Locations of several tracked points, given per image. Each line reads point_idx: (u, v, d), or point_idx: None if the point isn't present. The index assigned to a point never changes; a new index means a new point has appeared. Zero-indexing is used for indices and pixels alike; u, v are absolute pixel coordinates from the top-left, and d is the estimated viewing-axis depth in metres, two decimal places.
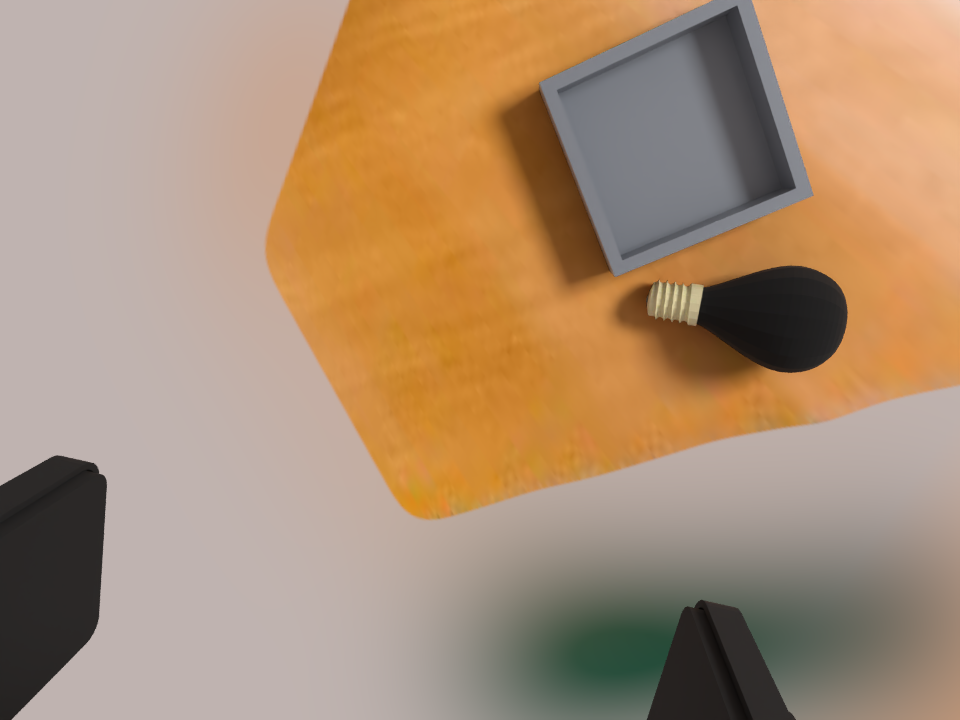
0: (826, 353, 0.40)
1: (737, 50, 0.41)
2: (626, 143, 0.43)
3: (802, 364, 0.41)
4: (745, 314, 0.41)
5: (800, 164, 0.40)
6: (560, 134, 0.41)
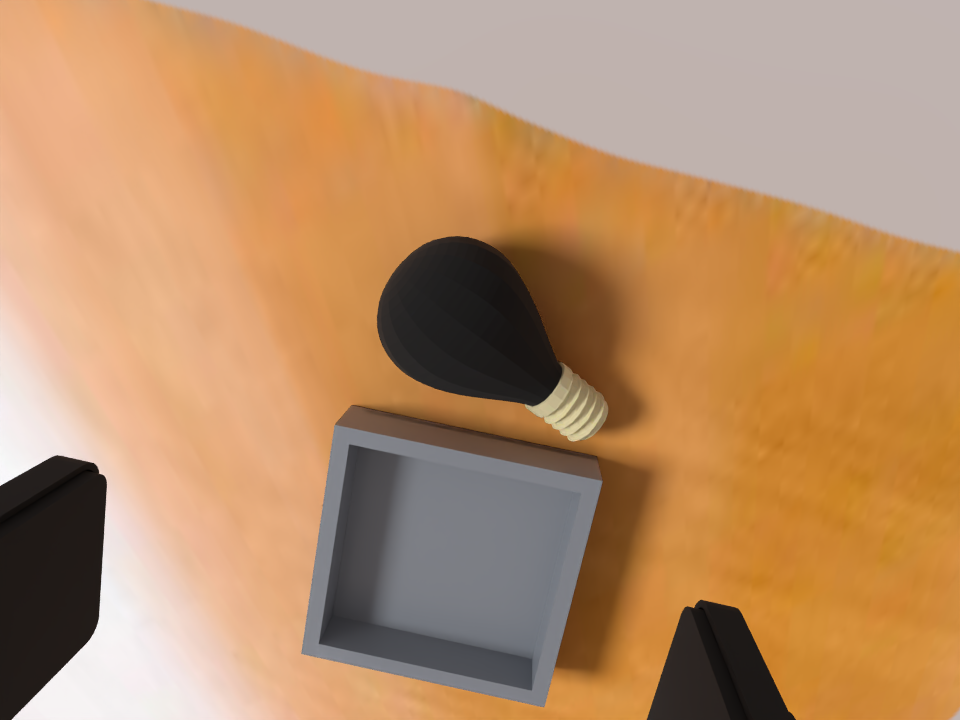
0: (439, 274, 0.26)
1: (337, 581, 0.36)
2: (493, 573, 0.35)
3: (476, 274, 0.27)
4: (505, 376, 0.28)
5: (332, 465, 0.32)
6: (556, 652, 0.33)
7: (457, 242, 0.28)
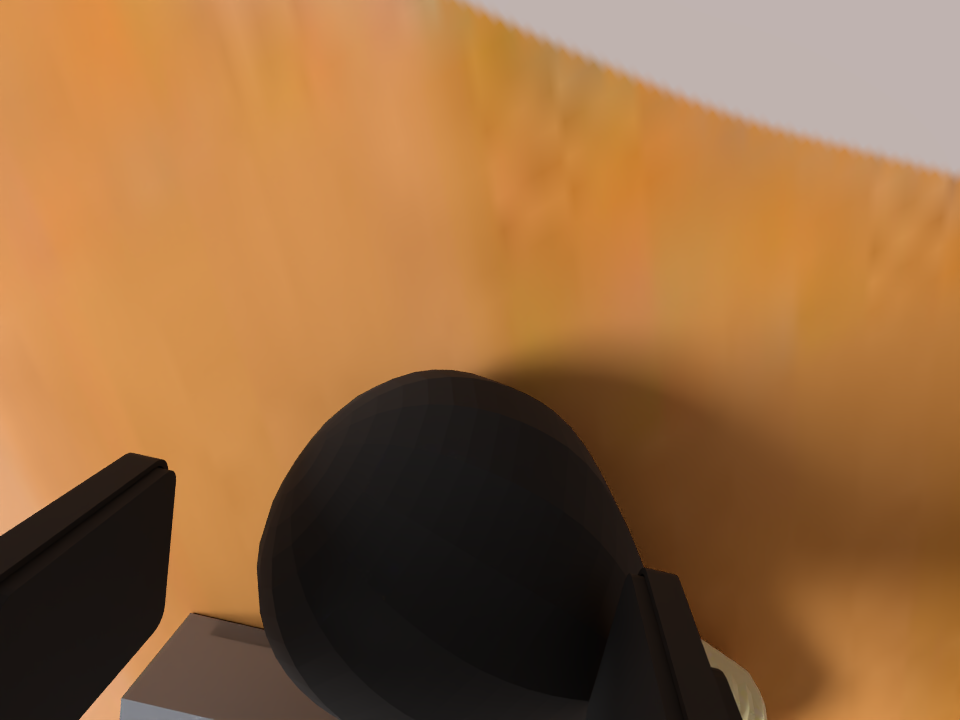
0: (397, 513, 0.10)
1: None
2: None
3: (496, 509, 0.10)
4: None
5: None
6: None
7: (448, 404, 0.11)
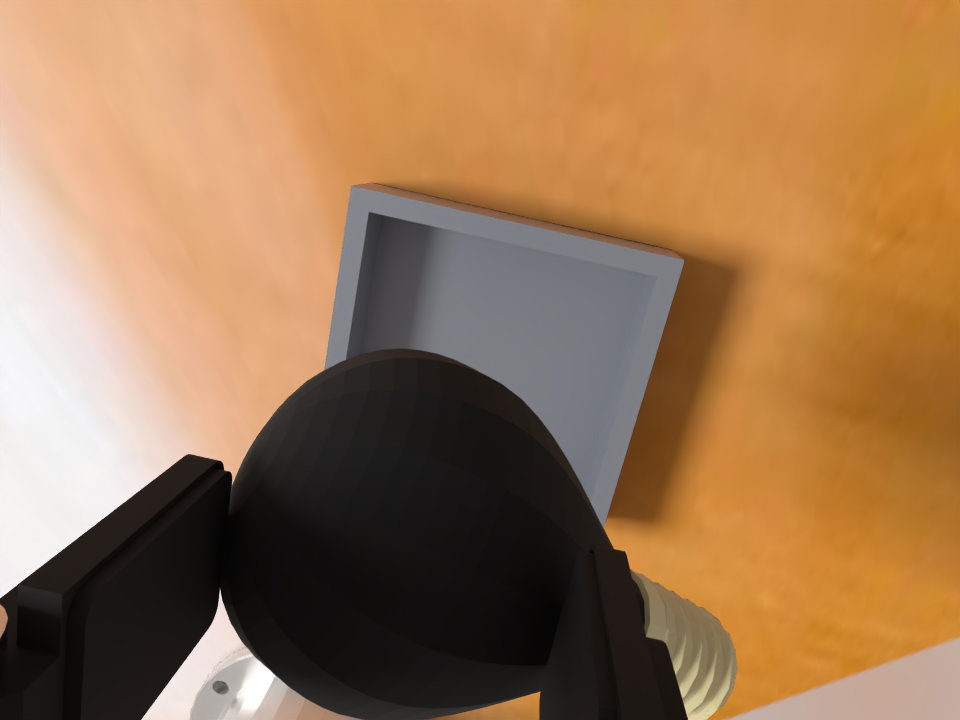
0: (337, 504, 0.10)
1: None
2: (538, 396, 0.29)
3: (436, 494, 0.10)
4: (526, 688, 0.12)
5: (347, 240, 0.26)
6: (615, 483, 0.28)
7: (387, 389, 0.11)
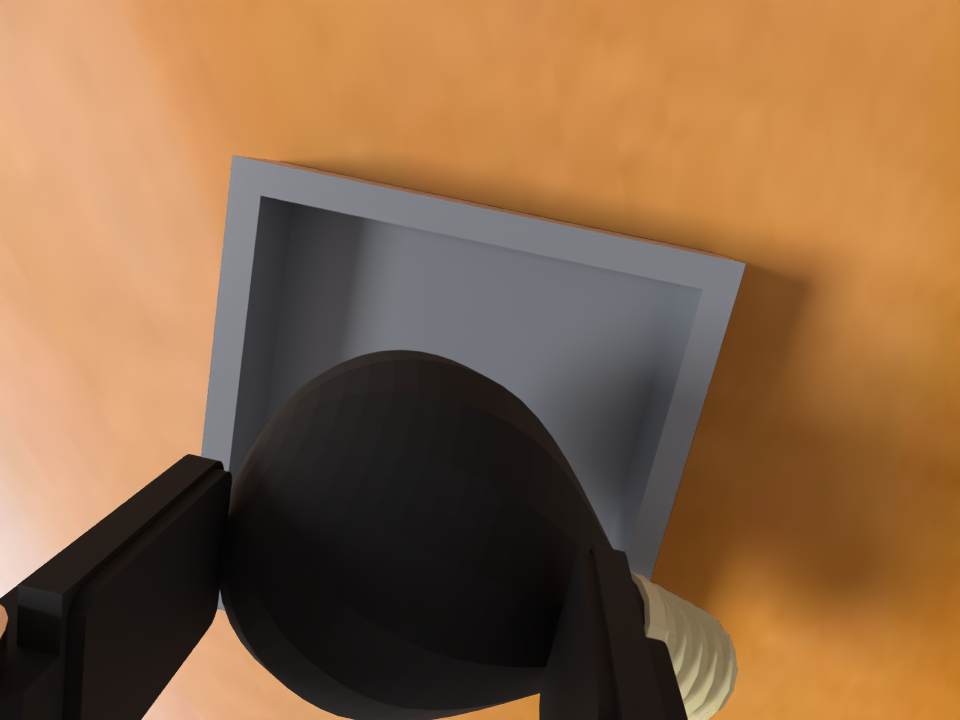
0: (337, 506, 0.10)
1: None
2: None
3: (436, 496, 0.10)
4: (527, 689, 0.12)
5: (230, 240, 0.17)
6: None
7: (387, 391, 0.11)
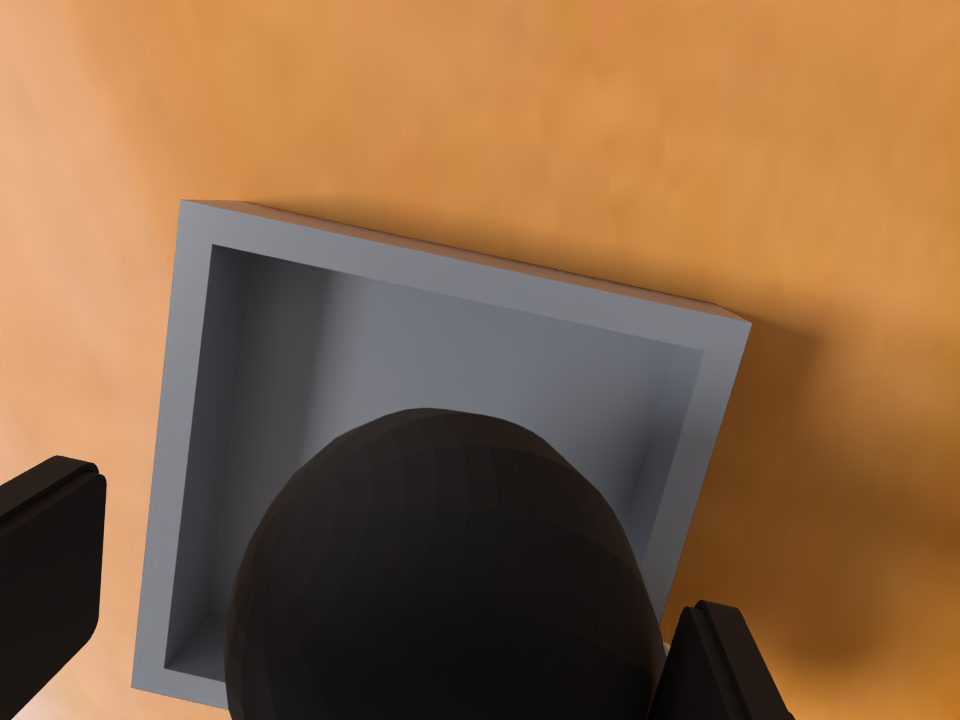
0: (439, 583, 0.08)
1: (215, 548, 0.19)
2: None
3: (545, 558, 0.09)
4: None
5: (178, 292, 0.15)
6: None
7: (456, 446, 0.10)
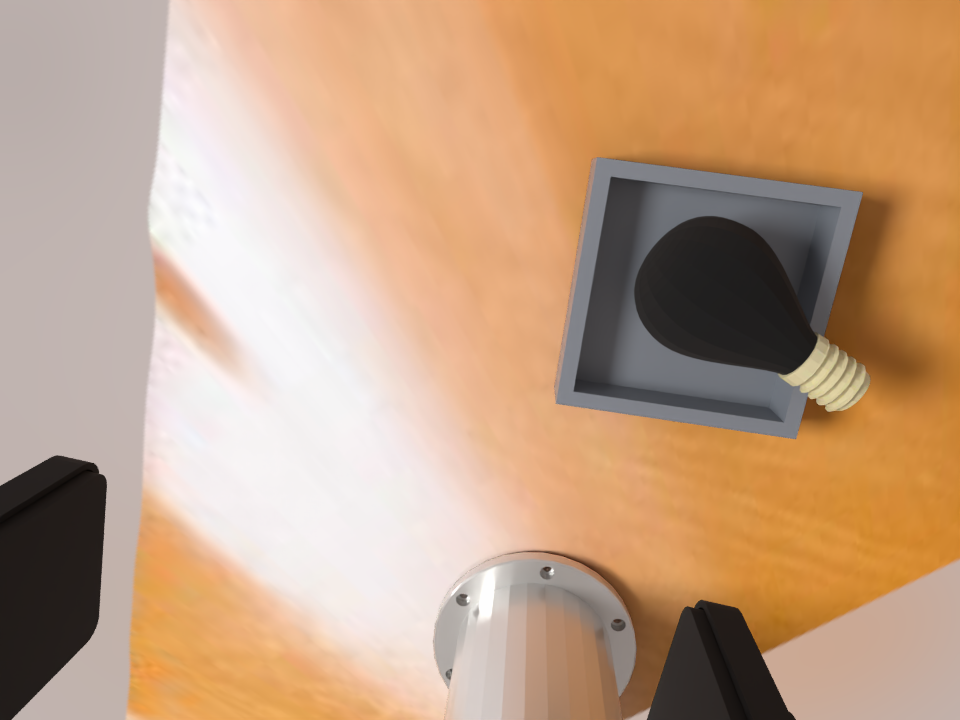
0: (694, 241, 0.30)
1: None
2: None
3: (728, 239, 0.29)
4: (760, 336, 0.30)
5: (593, 200, 0.33)
6: None
7: (707, 217, 0.31)
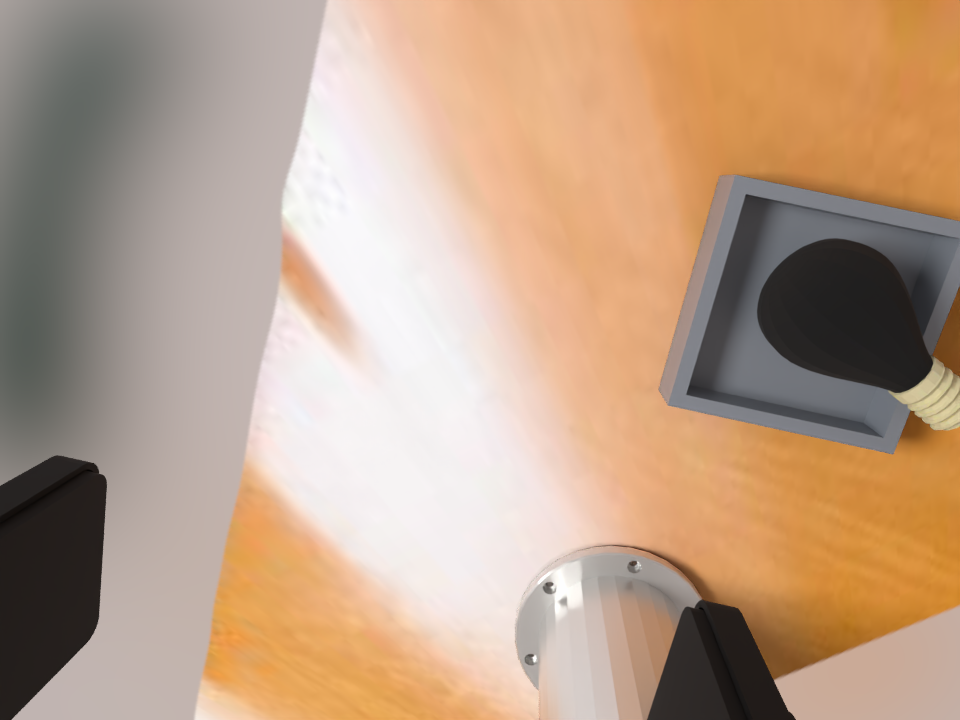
0: (831, 262, 0.31)
1: None
2: None
3: (865, 262, 0.31)
4: (886, 355, 0.32)
5: (727, 215, 0.35)
6: None
7: (840, 240, 0.33)
